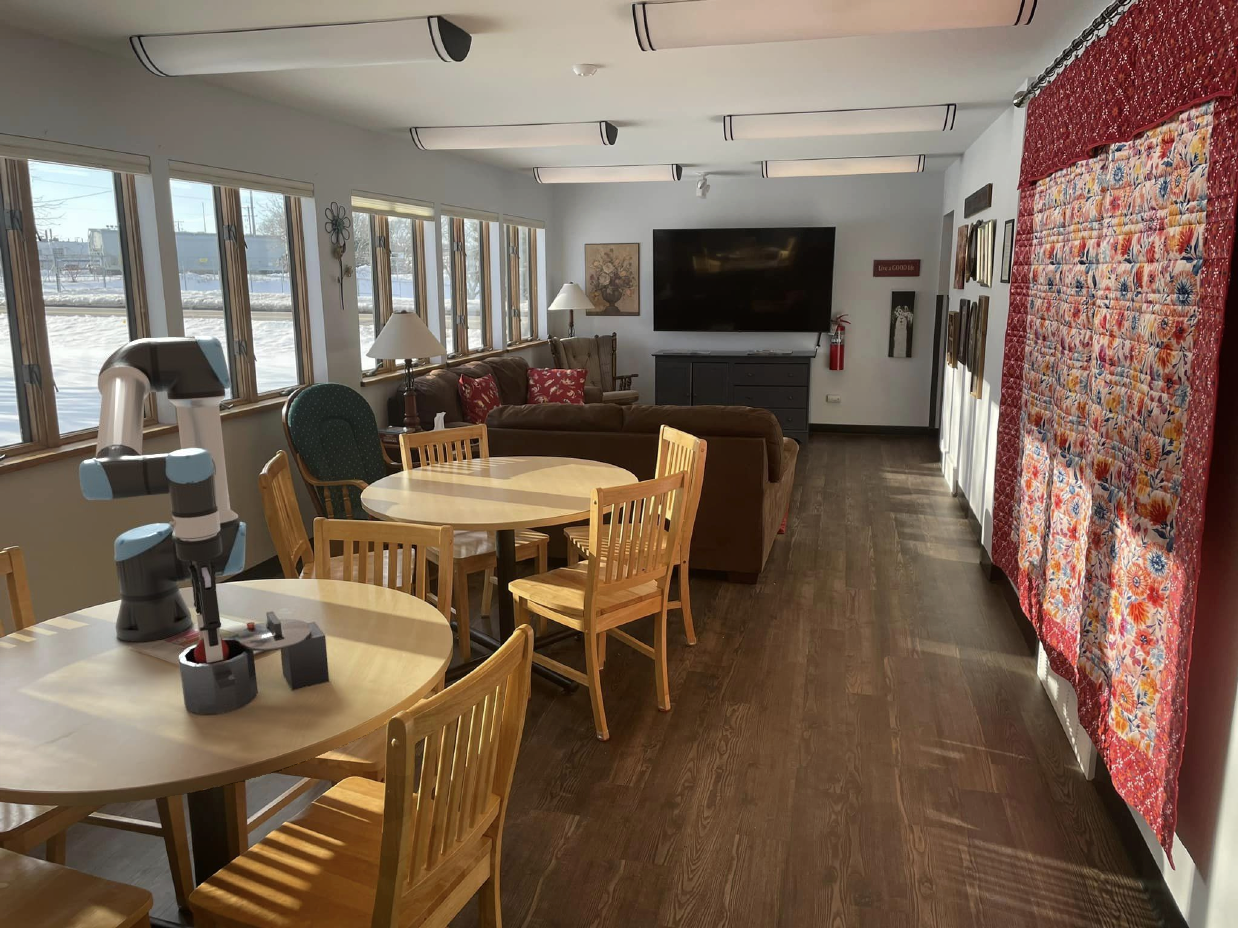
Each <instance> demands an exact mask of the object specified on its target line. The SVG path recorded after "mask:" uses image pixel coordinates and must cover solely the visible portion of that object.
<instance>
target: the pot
mask: <svg viewBox="0 0 1238 928" xmlns="http://www.w3.org/2000/svg"><path fill="white" fill-rule="evenodd" d="M221 638H222V639H223V640H224V641H225V643H226V644H227V646H228V649H229V654H228V657H227V659H226V661H222V662H218V663H213V664H197V663H196V661H195V657H194V650H195V648H196V646H197V644H198V643H196V644H193V645H191V646H189V647H187V648H185V649H184V650H183V651H182V652H181V653H180V654H179V655H178V662H179V664H178V665H179V671H180V679H181V685H182V686H181V688H182V694H183V701H184V705H185V709H186V711H188V712H189V713H191V714H195V715H200V716H212V715H213V716H214V715H221V714H226V713H229V712H233V711H236V710H238V709H241V708H244V707H245V706H247V705H249V704H250V703H251V702H253V701H254V699H255V698H256V697H257V695H258V693H259V690H258V680H257V671H256V662H255V651H253V650H248V649H245V648H243V647H241V646H240V645H239V639H238V637H221Z"/></svg>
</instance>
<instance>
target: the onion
mask: <svg viewBox="0 0 1238 928" xmlns="http://www.w3.org/2000/svg"><path fill="white" fill-rule="evenodd" d="M222 638H223V637H221V644H222V653H223V660H219V661H214V662H210V663H207V661H206V652H205V644H204V638H203V639H201V640H200V639H199V642H197V643H196V644H197V646H196V648H195V650H194V657H195V661H196V663H197V664H213V663H218V662H222V661H226V659H227V657H228V654H229V649H228V646H227V644H226V643H225V641H224V640H223V639H222Z"/></svg>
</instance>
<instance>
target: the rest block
mask: <svg viewBox="0 0 1238 928" xmlns="http://www.w3.org/2000/svg"><path fill="white" fill-rule="evenodd" d="M307 623H308V624H309V625H310V628H311V634H310V636H309V637H308V638H307V639H306V640H304V641H303V642H301V643H299V644H296V645H294V646H291V647H287V648H283V649H279V650H280V658H281V659H280V660H281V669H282V676H283V677H284V679H285V681H286V683H287V684H288V686H289V687H290V689H291V691H296V690H300V689H305V688H308V687H312V686H316V685H320V684H324V683H328V682H330V676H329V675H330V674H329V662H328V652H327V641H326V640H327V639H326V635H325V633H324V632H323V630H322V629H321V628H320V626H319V625H318V624H317V622H315V621H313V622H307Z"/></svg>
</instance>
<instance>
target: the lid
mask: <svg viewBox="0 0 1238 928" xmlns="http://www.w3.org/2000/svg"><path fill="white" fill-rule="evenodd" d="M308 623H309V622H307V621H304V620H301V619H293V618H292V619H291V618H283V619H279V618H278V617H277V615H276V614H275V612H274V611H273V610H272V611H267V612H266V621H263V622H259V623H256V624H255V622H254V621H253V622H252V621H251V622H247V623H246V628H245V629H244V630H242V631H241V632H240V633H239V634H238V637H237V638H238V639H239V645H240V646H241V647H243V648H245V649H248V650H253V651H254V652H267V651H269V652H271V651H278V650H280V649H283V648H287V647H291V646H294V645H296V644H299V643H301V642H303V641H304V640H306V639H307V638H308V637H309V636H310V634H311V628H310V625H309V624H308Z"/></svg>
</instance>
